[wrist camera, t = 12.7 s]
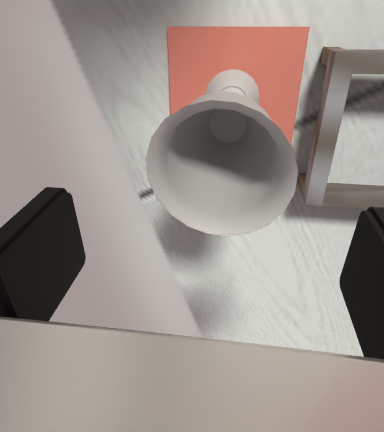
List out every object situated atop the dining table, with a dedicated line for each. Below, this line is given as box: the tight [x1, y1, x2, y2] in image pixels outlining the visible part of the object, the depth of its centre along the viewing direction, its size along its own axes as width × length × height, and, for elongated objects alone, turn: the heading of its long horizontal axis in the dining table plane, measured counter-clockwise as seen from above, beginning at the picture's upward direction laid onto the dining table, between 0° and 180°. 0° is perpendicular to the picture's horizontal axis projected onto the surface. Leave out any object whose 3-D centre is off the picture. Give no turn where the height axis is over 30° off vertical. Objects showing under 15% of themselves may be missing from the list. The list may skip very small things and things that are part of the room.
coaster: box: [167, 27, 309, 144], centre depth 31 cm, size 12×12×1 cm
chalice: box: [146, 69, 298, 236], centre depth 23 cm, size 7×7×18 cm
